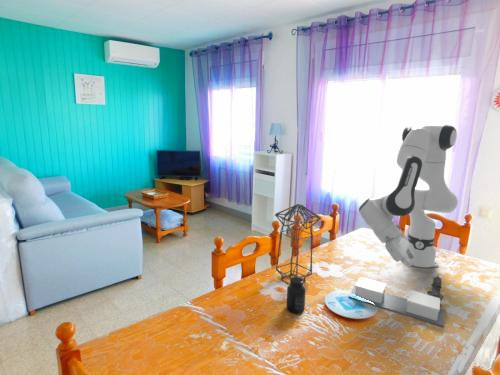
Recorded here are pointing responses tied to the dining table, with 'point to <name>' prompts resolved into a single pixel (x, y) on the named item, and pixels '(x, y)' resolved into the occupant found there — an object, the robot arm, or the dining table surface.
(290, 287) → the supplement bottle
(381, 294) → the grey mounting plate
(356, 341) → the dining table surface
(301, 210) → the geometric lantern
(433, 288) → the dark grey upright figurine
